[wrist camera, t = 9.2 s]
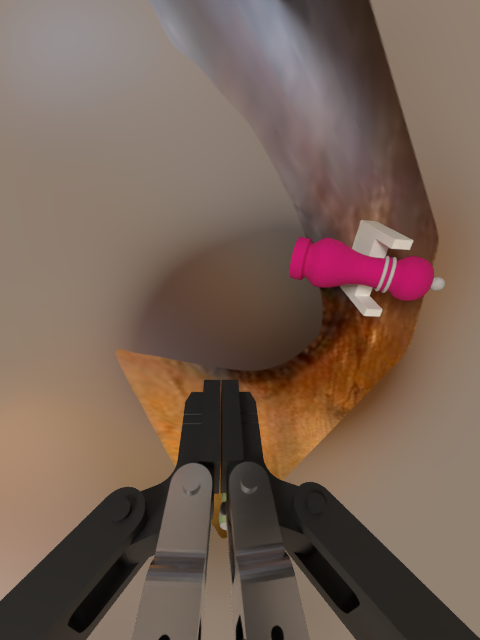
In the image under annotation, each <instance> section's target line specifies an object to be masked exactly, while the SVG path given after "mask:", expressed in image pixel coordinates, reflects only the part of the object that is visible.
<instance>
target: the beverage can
mask: <svg viewBox="0 0 480 640" xmlns="http://www.w3.org/2000/svg"><path fill="white" fill-rule="evenodd" d="M219 523H220V527H221V528H222V529H224V530H227V526H226V493H222V500H221V507H220V514H219Z"/></svg>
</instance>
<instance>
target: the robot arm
mask: <svg viewBox="0 0 480 640" xmlns="http://www.w3.org/2000/svg"><path fill="white" fill-rule="evenodd" d="M220 461H221V493H226V526H227V538H228V551H229V564H230V576H231V598H232V617H233V630H234V640H310V639H309V634H308V630H307V626H306V621H305V617H304V612H303V608H302V603H301V599H300V595H299V590H298V586H297V581H296V577H295V573H294V570H293V566H292V563H291V560H290V558H289V556H288V554H289V555H290V556H291V558H292V559H293V560H294V561H295V563H296V564H297V565H298V567H299V568H300V569H301V570H302V572H303V573H304V574H305V575H306V576H307V578H308V579H309V581H310V582H311V583H312V584H313V586H314V587H315V588H316V589H317V591H318V592H319V593H320V594H321V596H322V597H323V598H324V600H325V601H326V602H327V603H328V605H329V606H330V607H331V608H332V610H333V611H334V612H335V613H336V615H337V616H338V617H339V619H340V620H341V621H342V622H343V624H344V625H345V626H346V628H347V629H348V630H349V631H350V633H351V634H352V635H353V636H354V638H355V639H356V640H480V638H479V637H477V636H476V635H475V634H474V633H473V632H472V631H471V630H470V629H469V628H468V627H467V626H466V625H465V624H464V623H463V622H462V621H461V620H460V619H459V618H458V617H457V616H456V615H455V614H454V613H453V612H452V611H451V610H450V609H449V608H448V607H447V606H446V605H445V604H444V603H443V602H442V601H441V600H439V599H438V597H437V596H435V595H434V594H433V593H432V592H431V591H430V590H429V589H428V588H427V587H426V586H425V585H424V584H423V583H422V582H421V581H420V580H419V579H418V578H417V577H416V576H415V575H414V574H413V573H412V572H411V571H410V570H409V569H408V568H407V567H406V566H405V565H404V564H403V563H402V562H401V561H400V560H399V559H398V558H397V557H396V556H395V555H393V554H392V553H391V552H390V551H389V550H388V549H387V548H386V547H385V546H384V545H383V544H382V543H381V542H380V541H379V540H378V539H377V538H376V537H375V536H374V535H373V534H372V533H371V532H370V531H369V530H368V529H367V528H366V527H365V526H364V525H363V524H362V523H361V522H360V521H358V519H356V518H355V516H353V515H352V514H351V513H350V512H349V511H348V510H347V509H346V508H345V507H344V506H343V505H342V504H341V503H340V502H339V501H338V500H337V499H336V498H335V497H334V496H333V495H332V494H331V493H330V492H329V491H328V490H327V489H326V488H324V487H323V486H321V485H320V484H317V483H314V482H306V483H303V484H301V485H300V486H296V485H293V484H290V483H287V482H285V481H282V480H279V479H278V478H276V477H275V476H273V475H272V474H271V473H270V472H269V470H268V469H267V467H266V465H265V463H264V459H263V452H262V445H261V437H260V430H259V424H258V415H257V408H256V401H255V400H254V398H253V396H252V395H251V393H250V392H239V385H238V380H222V385H221V443H220V380H204V389H203V392H191V394H190V396H189V397H188V399H187V400H186V402H185V409H184V417H183V425H182V432H181V440H180V447H179V455H178V461H177V465H176V468H175V470H174V472H173V473H172V474H171V476H170V477H169V478H168V479H166V480H165V481H164V482H162V483H161V484H158V485H156V486H154V487H151V488H148V489H146V490H143V491H139V490H137V489H136V488H133V487H123V488H120V489H118V490H116V491H114V492H112V493H111V494H110V495H109V496H107V497H106V498H105V499H104V500H103V501H102V502H101V503H100V504H99V505H98V506H97V507H96V508H95V509H94V510H93V511H92V512H91V513H90V514H89V515H88V516H87V517H86V518H85V519H84V520H83V521H82V522H81V523H80V524H79V525H78V526H77V527H76V528H75V529H74V530H73V531H72V532H71V533H70V534H69V535H68V536H66V537H65V538H64V539H63V540H62V542H60V544H58V545H57V546H56V547H55V548H54V549H53V550H52V551H51V552H50V553H49V554H48V555H47V556H46V557H45V558H44V559H43V560H42V561H41V562H40V563H39V564H38V565H37V566H36V567H35V568H34V569H33V570H32V571H31V572H30V573H29V574H28V575H27V576H26V577H25V578H24V579H22V580H21V581H20V582H19V584H17V585H16V586H15V587H14V588H13V589H12V590H11V591H10V592H9V593H8V594H7V595H6V596H5V597H4V598H3V599H2V600H1V601H0V640H86V639H87V638H88V636H89V635H90V634H91V632H92V631H93V630H94V629H95V627H96V626H97V625H98V623H99V622H100V621H101V619H102V618H103V617H104V615H105V614H106V613H107V611H108V610H109V609H110V608H111V606H112V605H113V604H114V602H115V601H116V600H117V598H118V597H119V596H120V594H121V593H122V592H123V591H124V589H125V588H126V587H127V585H128V584H129V582H130V581H131V580H132V579H133V577H134V576H135V575H136V574H137V572H138V571H139V569H140V568H141V567H142V566H143V564H144V563H145V562H146V560H147V559H148V558H149V557H151V556H153V555H155V556H154V559H153V561H152V562H151V564H150V566H149V569H148V572H147V575H146V579H145V583H144V587H143V592H142V596H141V601H140V605H139V609H138V614H137V618H136V623H135V627H134V632H133V637H132V640H202V629H203V617H204V605H205V590H206V577H207V565H208V553H209V543H210V531H211V521H212V518H213V512H214V494H217V493H219V481H220ZM284 548H285V549H284ZM285 550H286V551H287V553H288V554H287V553H286V552H285Z"/></svg>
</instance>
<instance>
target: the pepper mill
mask: <svg viewBox="0 0 480 640" xmlns="http://www.w3.org/2000/svg"><path fill="white" fill-rule="evenodd" d="M290 277H291V278H294V279H298V280H302V279H303V278H304V277H306V278H307V279H308V280H309V281H310V282H311V284H312V285H314V286H316V287H322V288H326V287H335V286H340V285H347V284H359V285H366V286H369V287H373V288H375V291H382V293H385V292H386V291H389V292H390V293H391V294H392V295H393V296H394V297H395V298H396V299H399V300H403V301H412V300H416V299H419V298H421V297H422V296H424V295H425V294H426V293H427V292H428V290H429V289H432V290H435V291H438V290H441V289H442V288H443V287H444V286H445V281H444V280H443V279H442V278H439V277H436V278H434V270H433V267H432V265H431V264H430V263H429V262H428V261H427V260H425V259H423V258H421V257H416V256H409V257H406V258H404V259H402V260H397V259H396V257H393V258H392V257H389V256H385V257H384V258H376V257H371V256H367V255H363V254H361V253H359V252H357V251H355V250H353V249H352V248H350V247H349V246H347V245H346V244H344V243H342V242H340V241H338V240H336V239H331V238H324V239H321V240H320V241H318V242H316V243H312V240H311V239H310V238H304V237H299V239H298V240H297V242H296V245H295V248H294V251H293V255H292V259H291V264H290Z"/></svg>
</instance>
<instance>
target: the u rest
mask: <svg viewBox="0 0 480 640" xmlns="http://www.w3.org/2000/svg"><path fill="white" fill-rule="evenodd" d="M413 241H414V240H412V239H410V238H408V237H406V236H404V235H402V234H400V233H398V232H396V231H394V230H392V229H390V228H388V227H387V226H385V225H383V224H381V223H379V222H377V221H367V220H361V222H360V225H359V228H358V231H357V234H356V237H355V240H354V243H353V247H352V249H353V250H355V251H357V252H359V253H361V254H363V255H367V256H371V257H376V258H384V257H385V256H386V253H387V251H388V248H391V249H405V250H410V247H411V245H412V243H413ZM340 287H341V289H342V290H343V291H344V292H345V294H346V295H347V296H348V297H349V298H350V300H351V301H352V302H353V303H354V305H355V306H356V307H357V308H358V309H359V311H360V312H361V313H362V314H363V316H378V317H380V315H381V312H382V310H383V309H382V308H381V307H380V306H379V305H378V304H377V303H376V302H375V301H374V300H373V299H372V298H371V297H370V293H371V291H372V288H373V287H369V286H366V285H359V284H347V285H340Z"/></svg>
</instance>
